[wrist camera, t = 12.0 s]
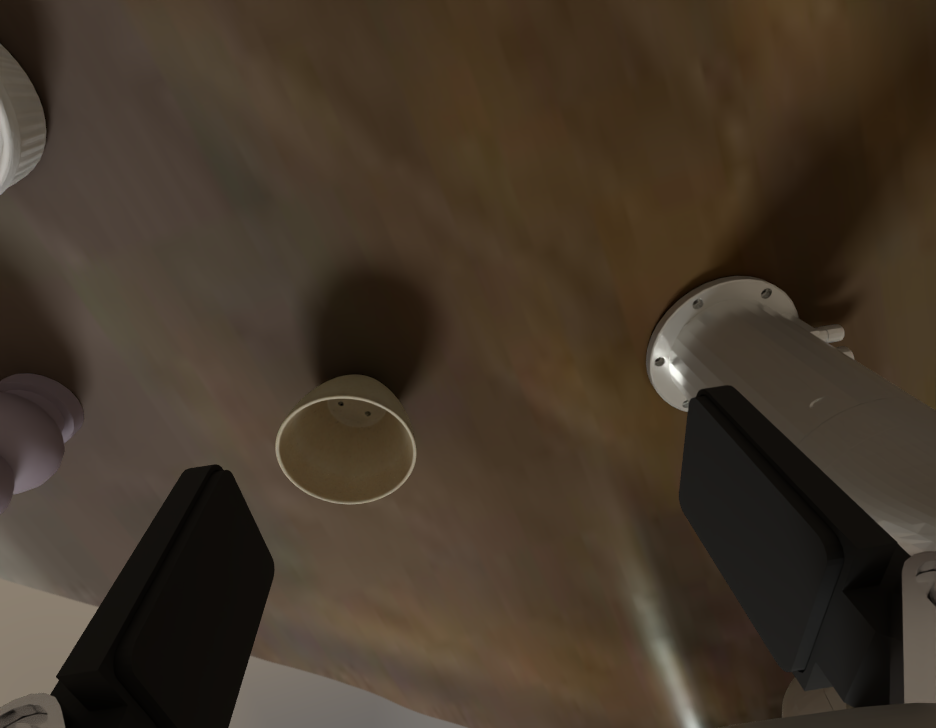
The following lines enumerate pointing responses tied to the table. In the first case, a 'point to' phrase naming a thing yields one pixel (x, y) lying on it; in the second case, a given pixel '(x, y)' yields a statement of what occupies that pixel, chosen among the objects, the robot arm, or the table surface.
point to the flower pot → (347, 441)
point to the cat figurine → (33, 431)
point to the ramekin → (18, 123)
